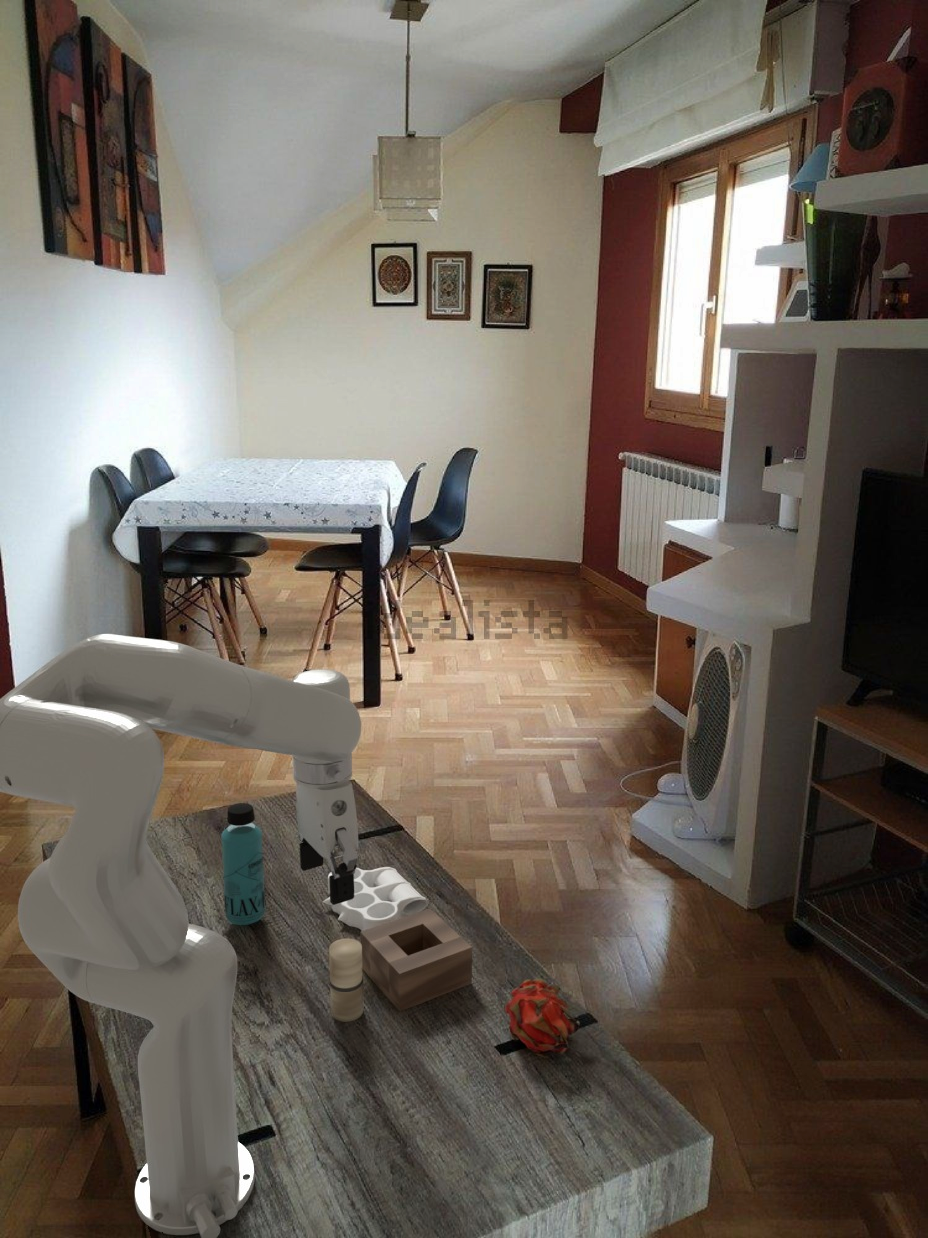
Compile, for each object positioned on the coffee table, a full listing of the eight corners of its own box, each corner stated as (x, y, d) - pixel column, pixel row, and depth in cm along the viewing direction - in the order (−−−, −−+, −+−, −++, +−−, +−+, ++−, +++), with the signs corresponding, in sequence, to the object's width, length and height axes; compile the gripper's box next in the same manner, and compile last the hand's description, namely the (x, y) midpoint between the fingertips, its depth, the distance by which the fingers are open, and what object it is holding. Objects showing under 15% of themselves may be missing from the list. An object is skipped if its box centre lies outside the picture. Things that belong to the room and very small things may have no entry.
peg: (369, 1015, 136) (368, 951, 133) (339, 1026, 133) (337, 962, 131) (354, 996, 140) (353, 934, 137) (324, 1008, 137) (322, 944, 135)
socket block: (471, 983, 143) (472, 947, 141) (399, 1011, 137) (399, 974, 135) (429, 943, 152) (429, 908, 151) (361, 967, 146) (360, 931, 145)
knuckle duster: (436, 922, 159) (353, 949, 151) (386, 871, 173) (308, 894, 166) (437, 903, 158) (353, 929, 150) (386, 854, 172) (307, 876, 165)
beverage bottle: (217, 931, 155) (210, 814, 149) (236, 908, 161) (230, 795, 156) (256, 937, 153) (249, 819, 148) (274, 914, 160) (268, 800, 154)
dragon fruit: (519, 1019, 138) (564, 1086, 128) (478, 1005, 133) (520, 1073, 123) (556, 971, 137) (603, 1034, 127) (516, 955, 132) (561, 1020, 122)
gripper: (379, 784, 122) (381, 906, 127) (322, 737, 136) (326, 848, 141) (323, 798, 118) (327, 924, 123) (270, 748, 133) (276, 862, 137)
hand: (326, 883), depth 132 cm, fingers open, 9 cm apart
